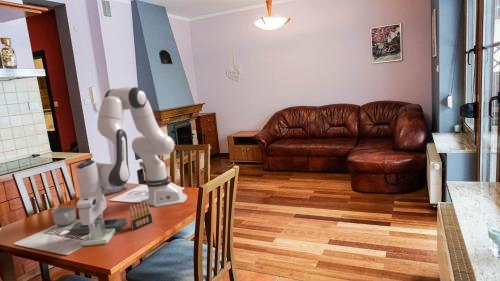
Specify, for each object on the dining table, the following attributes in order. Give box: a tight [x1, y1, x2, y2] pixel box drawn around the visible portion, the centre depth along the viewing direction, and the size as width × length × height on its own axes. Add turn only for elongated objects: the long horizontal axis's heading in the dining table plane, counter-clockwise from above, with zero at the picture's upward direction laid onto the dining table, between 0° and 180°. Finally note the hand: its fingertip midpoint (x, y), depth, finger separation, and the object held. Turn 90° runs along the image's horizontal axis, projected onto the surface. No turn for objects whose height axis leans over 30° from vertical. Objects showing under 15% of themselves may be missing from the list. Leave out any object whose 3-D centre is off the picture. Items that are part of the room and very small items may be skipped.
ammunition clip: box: [129, 200, 153, 231], centre depth 164 cm, size 11×2×12 cm, turn 139°
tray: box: [80, 229, 116, 247], centre depth 154 cm, size 11×11×2 cm
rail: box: [69, 217, 128, 236], centre depth 165 cm, size 24×8×3 cm, turn 93°
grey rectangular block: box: [88, 218, 107, 241], centre depth 154 cm, size 5×5×9 cm
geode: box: [101, 181, 128, 196], centre depth 220 cm, size 20×12×10 cm, turn 135°
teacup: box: [51, 205, 77, 227], centre depth 173 cm, size 14×11×8 cm
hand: (96, 225), depth 153 cm, fingers open, 6 cm apart
